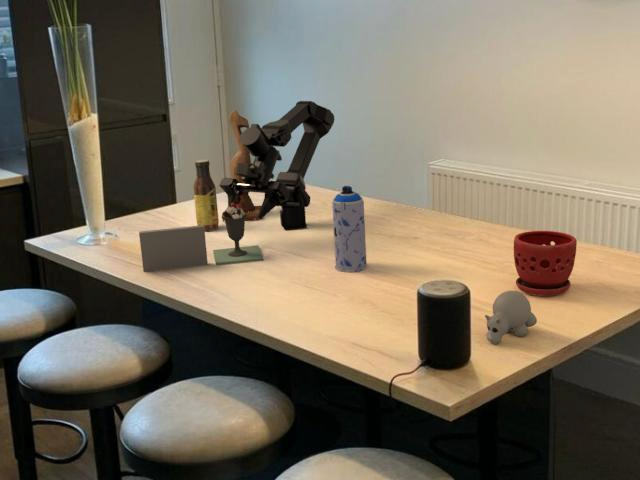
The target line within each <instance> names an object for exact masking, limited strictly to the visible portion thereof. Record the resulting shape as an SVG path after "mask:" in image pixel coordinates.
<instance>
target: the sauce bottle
mask: <svg viewBox="0 0 640 480" xmlns="http://www.w3.org/2000/svg"><path fill="white" fill-rule="evenodd" d="M210 165H211V164H210V160H209V159H199V160H198V159H197V160H196V161H195V162H194V166H195V170H196V179H195V181H194V183H193V192H194V194H193V197H194V207H195V208H194V209H195V218H196V226H199V225H204V230H205V232H211V231H214V230H217V229H219V223H220V222H219V221H220V220H219V213H218V199H217V190H216V185H215V182H214V181H213V178H212V176H211V173H210Z"/></svg>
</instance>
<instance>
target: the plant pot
mask: <svg viewBox="0 0 640 480" xmlns="http://www.w3.org/2000/svg"><path fill="white" fill-rule="evenodd" d="M551 242H553V243H554V244H551ZM577 244H578V243H577V238H575V236H574V235H572V234H567V233H564V232H561V231H560V232H559V231H554V230H553V231H552V230H531V231H530V230H529V231H524V232H521V233H518V234H516V235H515V236H514V239H513V260H514V265H515V270H516V272H517V275H518V278H517V279H516V280H515V284H516V287H517V288H518V289H519V290H520V291H521V292H524V293H525V294H528V295H530V296H540V297H550V296H551V297H552V296H557V295H560V294H561V295H562V294H563V293H565V292H566V291H568V290H569V288H570V287H571V281H570V276H571V274H572V271H573V270H574V266H575V260H576V255H577Z"/></svg>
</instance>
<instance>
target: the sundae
mask: <svg viewBox="0 0 640 480" xmlns="http://www.w3.org/2000/svg"><path fill="white" fill-rule="evenodd" d="M236 197H238V196H236ZM235 200H236V199H235ZM234 202H235V201H234ZM234 202H233V203H231V205H230V206H229V207H228V206H227V207H228V208H227V207H226V209H227V210H226V209H225V210H226V211H225V210H224V211H223V212H222V213H221V219H222V221H223V220H224V223H225V226H226V233H227V236H228V238H229V239H230V240H232V241H233V242H234V248H235V249H234V251H232V252H230V253H229V254H228V255H229V256H233V257H238V256H244V255H246V254H247V251H243V250H241V249H240V247H241V246H240V241H241V240H242V239H243V238H244V235H245V227H246V226H245V224H246V223H245V222H246V221H245V218H246V217H247V214H244V211H243V210H242V209H241V208H240V205H239V204H236V205H235V203H234ZM237 203H238V199H237ZM222 214H223V216H222Z"/></svg>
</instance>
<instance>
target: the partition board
mask: <svg viewBox="0 0 640 480" xmlns="http://www.w3.org/2000/svg"><path fill="white" fill-rule="evenodd" d="M205 232H206V231H205V230H204V225H199V226H198V225H191V226H181V227H180V226H179V227H171V228H159V229H150V230H141V231H138V235H139V243H140V244H139V245H140V253H141V262H142V269H143V272H151V271H152V272H155V271H161V270H172V269H183V268H191V267H201V266H208V265H209V262H208V261H209V260H208V254H207V253H208V251H207V244H206V241H207V240H206V233H205Z"/></svg>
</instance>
